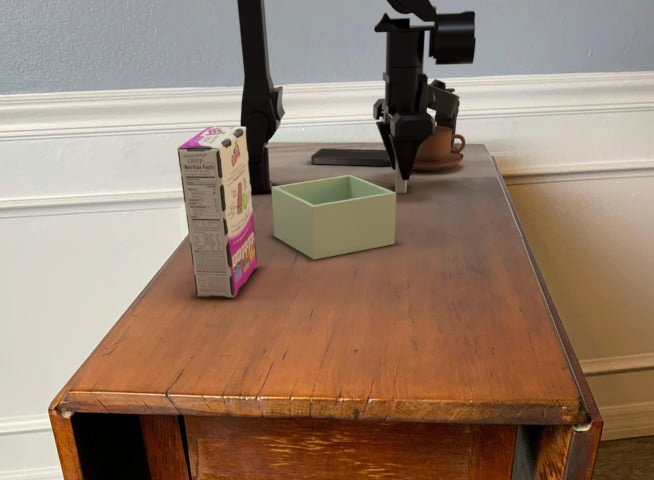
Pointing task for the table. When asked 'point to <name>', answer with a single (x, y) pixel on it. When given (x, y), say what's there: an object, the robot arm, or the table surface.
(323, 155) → the phone
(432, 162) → the cup and saucer
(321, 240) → the open square storage bin
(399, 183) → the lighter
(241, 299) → the table surface
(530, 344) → the table surface
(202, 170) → the candy bar box
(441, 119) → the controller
